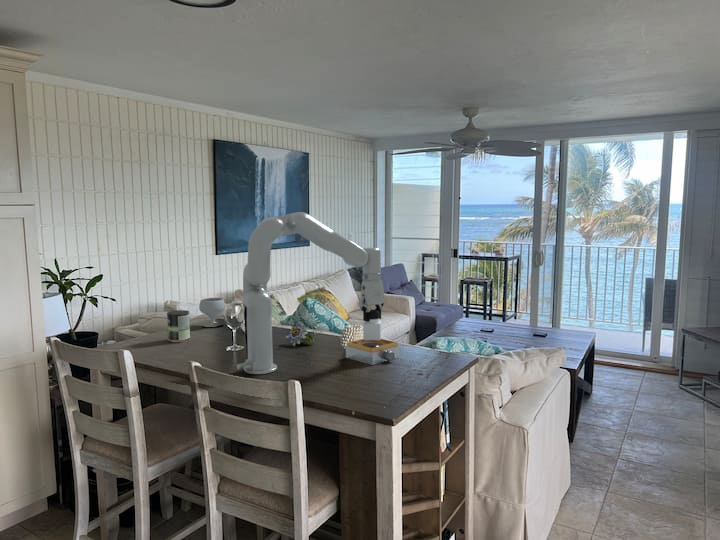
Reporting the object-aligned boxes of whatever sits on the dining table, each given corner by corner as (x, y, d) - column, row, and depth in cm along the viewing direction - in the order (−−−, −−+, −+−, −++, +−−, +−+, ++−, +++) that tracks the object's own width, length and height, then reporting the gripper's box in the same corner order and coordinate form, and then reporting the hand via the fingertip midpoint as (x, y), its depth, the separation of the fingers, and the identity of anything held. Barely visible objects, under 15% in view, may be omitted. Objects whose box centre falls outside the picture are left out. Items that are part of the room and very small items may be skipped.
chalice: (208, 329, 273) (207, 302, 271) (195, 326, 282) (194, 299, 280) (231, 325, 283) (230, 299, 281) (217, 322, 292) (216, 296, 291)
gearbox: (378, 366, 202) (377, 350, 201) (345, 357, 215) (345, 342, 215) (404, 358, 213) (404, 343, 212) (372, 350, 226) (372, 336, 226)
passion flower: (295, 357, 237) (279, 336, 237) (306, 347, 247) (292, 327, 247) (310, 346, 231) (295, 325, 232) (322, 336, 241) (307, 316, 241)
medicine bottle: (381, 336, 217) (381, 308, 216) (380, 340, 210) (380, 312, 209) (364, 336, 218) (364, 308, 217) (363, 340, 211) (362, 311, 210)
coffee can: (167, 343, 243) (166, 314, 242) (168, 339, 253) (167, 311, 251) (190, 341, 246) (188, 313, 245) (190, 337, 256) (189, 309, 254)
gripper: (363, 280, 203) (363, 324, 205) (392, 276, 215) (392, 318, 217) (350, 278, 208) (351, 321, 210) (379, 274, 220) (380, 315, 222)
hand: (372, 319), depth 213 cm, fingers closed on medicine bottle, 6 cm apart
